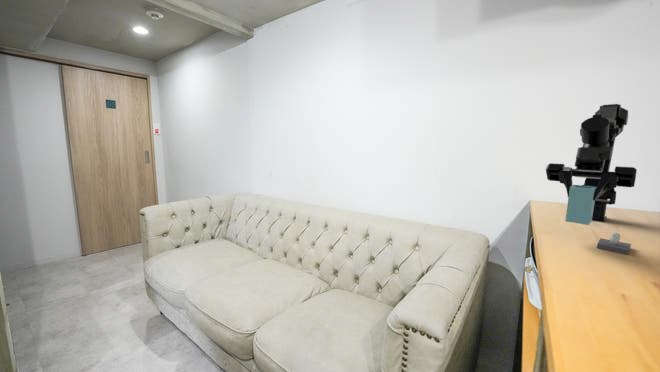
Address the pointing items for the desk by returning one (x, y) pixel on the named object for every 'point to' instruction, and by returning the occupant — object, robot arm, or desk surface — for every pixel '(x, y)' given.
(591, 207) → the teal sleeve
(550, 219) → the desk surface
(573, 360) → the desk surface
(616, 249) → the dark grey square plate
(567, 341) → the desk surface
